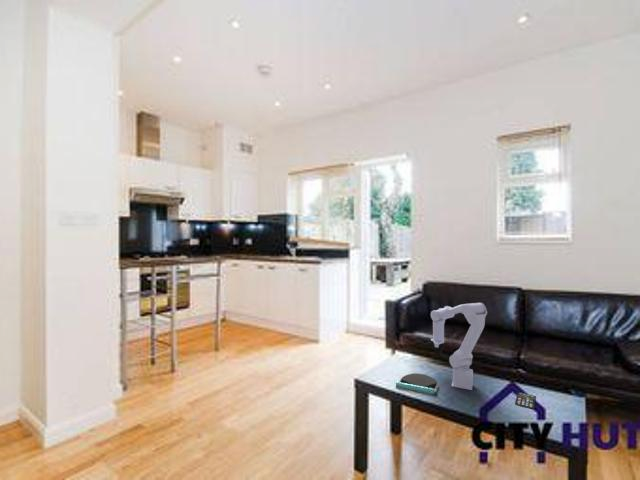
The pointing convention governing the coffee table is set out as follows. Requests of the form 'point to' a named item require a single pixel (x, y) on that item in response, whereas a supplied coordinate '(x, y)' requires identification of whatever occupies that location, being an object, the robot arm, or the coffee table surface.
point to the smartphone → (525, 400)
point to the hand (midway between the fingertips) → (438, 356)
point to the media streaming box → (419, 380)
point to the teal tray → (417, 387)
